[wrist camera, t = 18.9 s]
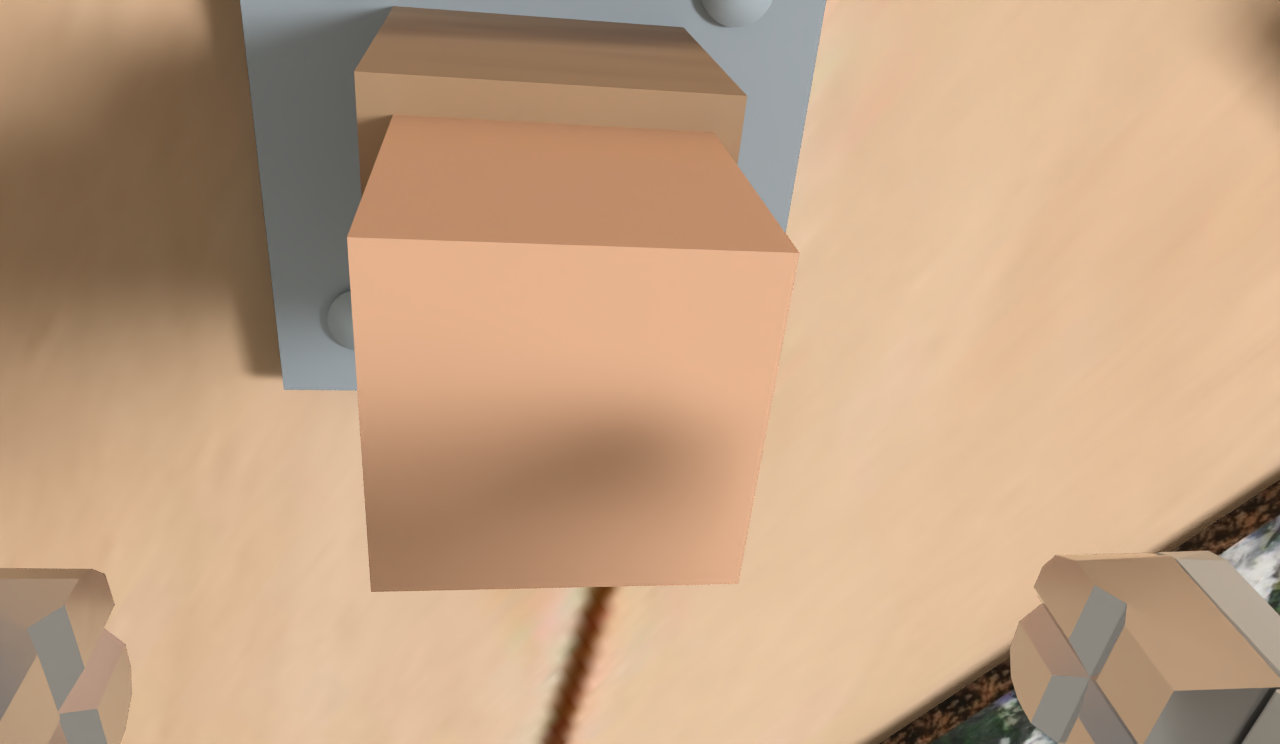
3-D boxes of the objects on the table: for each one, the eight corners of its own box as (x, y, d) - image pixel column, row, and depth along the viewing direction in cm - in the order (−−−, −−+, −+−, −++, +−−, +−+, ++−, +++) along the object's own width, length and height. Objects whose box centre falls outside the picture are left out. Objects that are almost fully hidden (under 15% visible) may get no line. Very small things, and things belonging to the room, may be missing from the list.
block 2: (392, 114, 14) (347, 237, 10) (713, 132, 15) (799, 252, 11) (404, 396, 17) (370, 591, 12) (679, 398, 17) (738, 583, 13)
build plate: (233, -174, 18) (217, -174, 17) (831, -115, 20) (849, -112, 19) (291, 369, 24) (282, 394, 23) (748, 375, 26) (759, 398, 25)
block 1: (394, 5, 19) (354, 71, 14) (683, 27, 20) (747, 95, 15) (403, 277, 22) (373, 414, 17) (655, 284, 23) (701, 416, 18)
